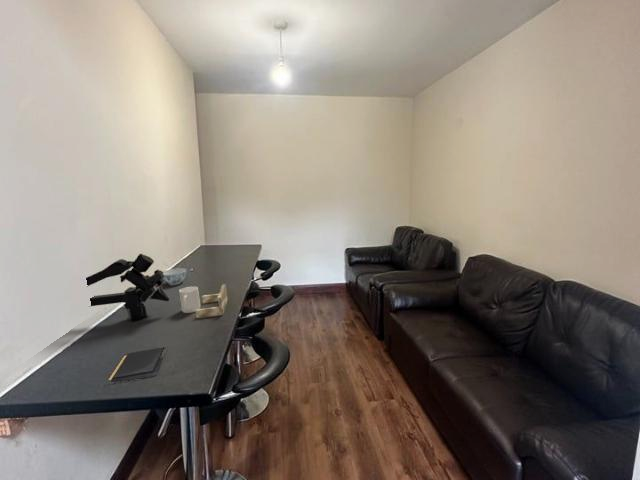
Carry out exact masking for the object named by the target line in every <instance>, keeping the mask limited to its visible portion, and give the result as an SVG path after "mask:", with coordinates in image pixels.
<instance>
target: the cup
mask: <svg viewBox="0 0 640 480" xmlns="http://www.w3.org/2000/svg"><path fill="white" fill-rule="evenodd" d="M178 293H179V300H180V306H181V312H183V313H184V314H190V313H194V312H195V311H196V310H197V309H201V300H200V293H199V288H198V286H195V285H194V286H186V287H183V288H180V289H179V290H178ZM195 313H196V312H195Z"/></svg>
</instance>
